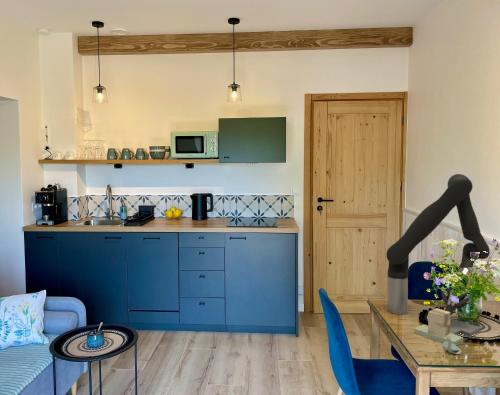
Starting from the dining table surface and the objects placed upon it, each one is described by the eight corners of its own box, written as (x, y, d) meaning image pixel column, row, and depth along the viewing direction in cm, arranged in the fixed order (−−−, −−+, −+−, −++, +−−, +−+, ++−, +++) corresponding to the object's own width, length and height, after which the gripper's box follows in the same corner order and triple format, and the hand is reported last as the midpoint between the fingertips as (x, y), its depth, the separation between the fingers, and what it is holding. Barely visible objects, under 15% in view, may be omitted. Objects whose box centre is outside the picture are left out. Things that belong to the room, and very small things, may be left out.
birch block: (435, 329, 169) (436, 308, 169) (450, 333, 165) (450, 312, 164) (428, 332, 166) (428, 311, 165) (442, 337, 161) (442, 315, 160)
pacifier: (458, 348, 156) (442, 346, 158) (459, 332, 156) (442, 330, 158) (463, 356, 149) (445, 354, 151) (464, 340, 149) (446, 338, 150)
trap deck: (441, 320, 184) (441, 315, 183) (480, 331, 170) (480, 327, 170) (414, 333, 170) (414, 328, 170) (454, 347, 157) (454, 342, 157)
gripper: (445, 272, 180) (429, 305, 174) (475, 279, 169) (460, 314, 163) (450, 281, 183) (435, 314, 177) (481, 288, 173) (466, 323, 167)
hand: (447, 314), depth 170 cm, fingers closed
